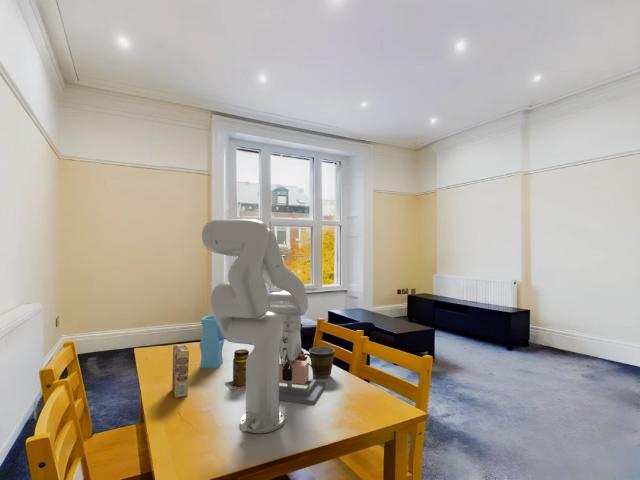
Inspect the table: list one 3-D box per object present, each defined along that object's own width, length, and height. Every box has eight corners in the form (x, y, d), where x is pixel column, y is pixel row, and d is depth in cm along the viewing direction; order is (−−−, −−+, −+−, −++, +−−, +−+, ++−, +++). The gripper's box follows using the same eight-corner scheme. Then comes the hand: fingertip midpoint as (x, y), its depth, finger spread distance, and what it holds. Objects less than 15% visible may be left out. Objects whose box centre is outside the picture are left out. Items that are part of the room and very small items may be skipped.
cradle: (313, 404, 113) (313, 393, 113) (250, 396, 119) (250, 386, 119) (325, 385, 128) (325, 375, 128) (269, 379, 134) (269, 370, 134)
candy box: (189, 395, 119) (189, 350, 120) (175, 398, 117) (175, 352, 117) (184, 386, 127) (185, 343, 127) (171, 389, 125) (172, 345, 125)
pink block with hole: (271, 380, 123) (271, 363, 123) (276, 375, 128) (276, 358, 128) (304, 384, 120) (304, 366, 120) (308, 378, 125) (308, 361, 125)
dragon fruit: (290, 363, 158) (301, 375, 147) (276, 354, 154) (287, 366, 143) (301, 346, 159) (313, 358, 149) (288, 338, 156) (299, 349, 145)
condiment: (253, 385, 129) (253, 351, 129) (231, 390, 124) (231, 355, 124) (246, 378, 135) (246, 347, 135) (224, 383, 130) (224, 350, 130)
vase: (218, 368, 146) (218, 319, 147) (199, 368, 147) (199, 319, 147) (223, 361, 154) (224, 315, 155) (205, 361, 154) (206, 315, 155)
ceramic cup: (328, 370, 144) (328, 345, 145) (338, 378, 135) (338, 352, 135) (298, 374, 140) (298, 348, 140) (306, 383, 130) (306, 356, 131)
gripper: (292, 331, 115) (292, 388, 115) (307, 320, 131) (307, 369, 131) (270, 330, 117) (270, 385, 117) (288, 319, 133) (288, 367, 133)
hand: (290, 376), depth 124 cm, fingers closed on pink block with hole, 5 cm apart
